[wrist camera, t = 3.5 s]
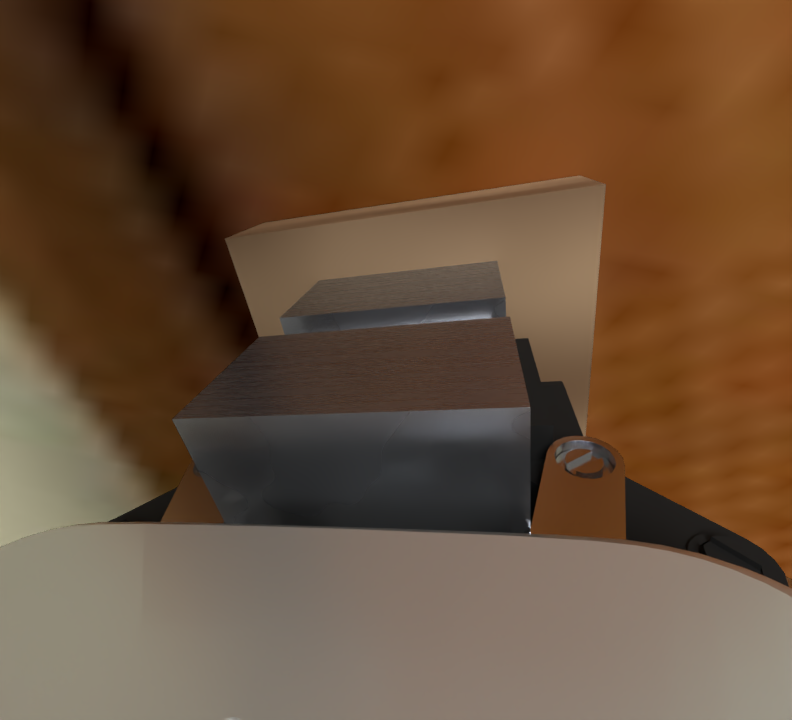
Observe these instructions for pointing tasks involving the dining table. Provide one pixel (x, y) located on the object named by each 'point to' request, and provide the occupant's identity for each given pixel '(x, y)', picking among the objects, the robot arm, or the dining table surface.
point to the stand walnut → (453, 261)
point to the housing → (374, 410)
